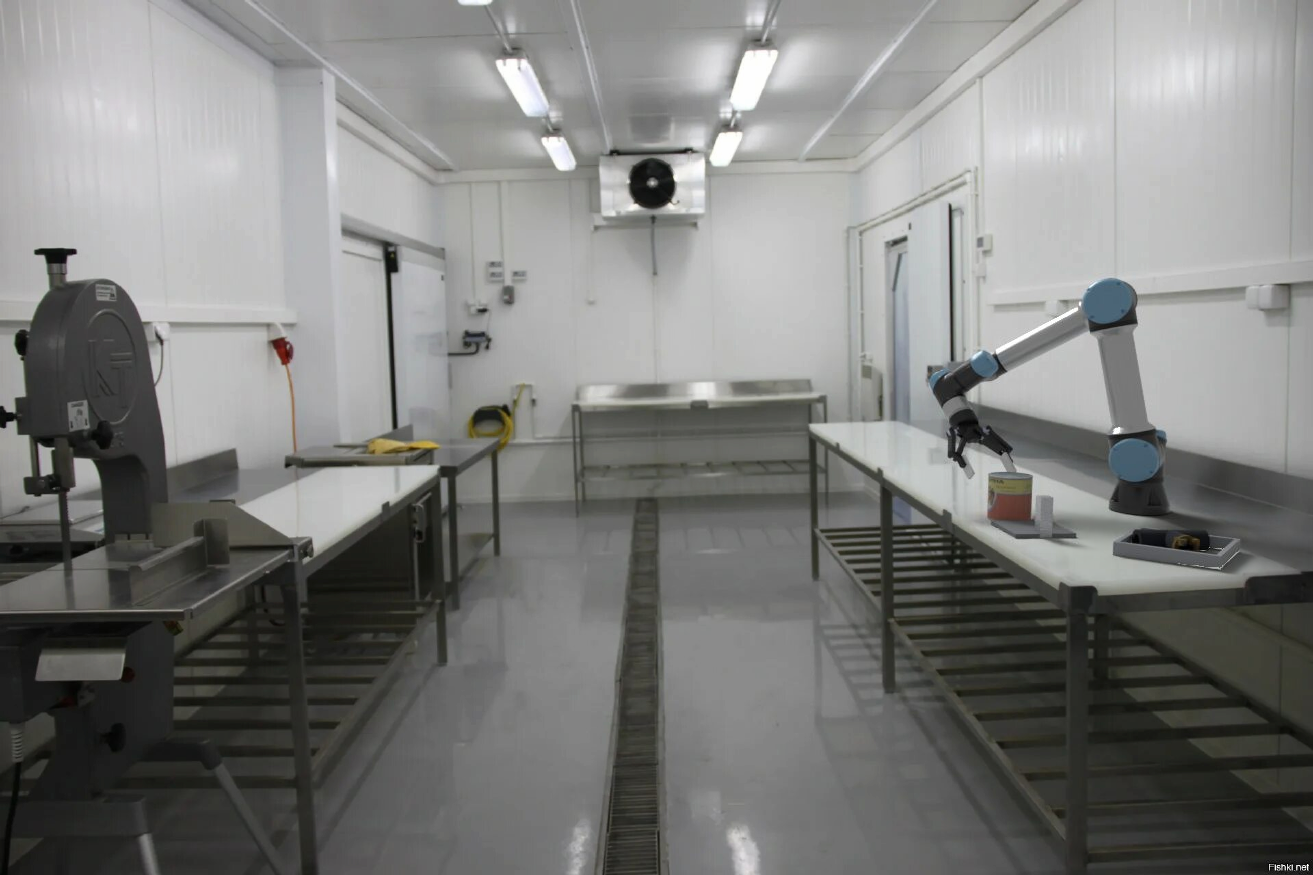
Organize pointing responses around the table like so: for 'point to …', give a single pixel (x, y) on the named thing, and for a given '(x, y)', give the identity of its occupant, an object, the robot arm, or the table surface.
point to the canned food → (1009, 496)
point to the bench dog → (1044, 515)
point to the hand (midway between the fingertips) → (992, 475)
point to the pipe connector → (1173, 539)
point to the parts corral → (1178, 551)
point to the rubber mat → (1029, 529)
